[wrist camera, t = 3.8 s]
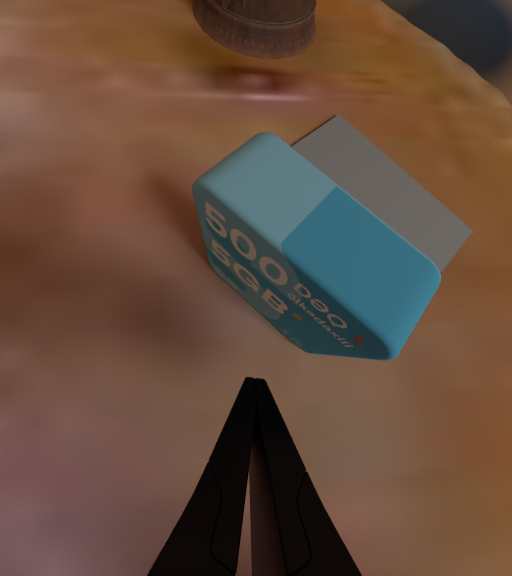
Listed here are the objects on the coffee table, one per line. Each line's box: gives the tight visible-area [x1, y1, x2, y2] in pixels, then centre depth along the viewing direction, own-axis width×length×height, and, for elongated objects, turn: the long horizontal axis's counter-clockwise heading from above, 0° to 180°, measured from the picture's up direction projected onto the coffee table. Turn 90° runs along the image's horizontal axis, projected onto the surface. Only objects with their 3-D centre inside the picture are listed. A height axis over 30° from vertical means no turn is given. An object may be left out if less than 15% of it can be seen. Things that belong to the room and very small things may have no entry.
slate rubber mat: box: [292, 114, 473, 273], centre depth 24 cm, size 22×20×1 cm
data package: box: [192, 132, 441, 360], centre depth 15 cm, size 12×4×12 cm, turn 48°
